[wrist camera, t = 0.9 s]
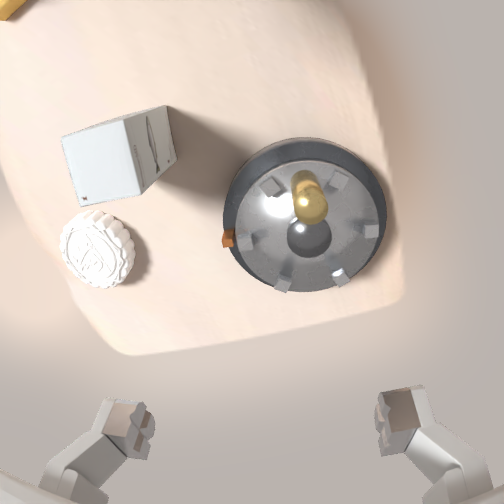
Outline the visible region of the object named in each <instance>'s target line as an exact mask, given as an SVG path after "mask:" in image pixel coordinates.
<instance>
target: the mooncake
mask: <svg viewBox="0 0 504 504" xmlns="http://www.w3.org/2000/svg"><path fill="white" fill-rule="evenodd" d="M60 239H61V242H62V243H61V244H60V249H61V251H62V257H63V259H64V260H65V261H66V264H67V266H68V268H69V269H70V270H72V271H73V273H74V275H75V276H76V277H77V278H80V279H81V280H82V281H83V282H84V283H86V284H91V285H92V286H93V287H96V288H97V287H101V288H104V289H107V288H109V286H110V287H116V286H117V285H118V283H122V282H123V281H124V280H125V278H126V276H127V275H128V274H129V272H130V270H131V269H132V267H133V265H134V258H135V256H136V252H135V250H134V246H135V244H134V241H133V240H132V239H130V233H129V231H128V230H127V229H125V228H124V227H123V224H122V223H121V222H120V221H119V220H115V219H114V217H113V216H112V215H111V214H104V213H103V212H102V211H100V210H97V211H95V212H94V211H92V210H87V211H86V212H85V213H79V214H78V215H77V216H76V217H75V218H73V219H72V220H71V221H70V222H69V223H68V224H67V225H66V226H65V227H64V229H63V233H62V234H61V237H60Z"/></svg>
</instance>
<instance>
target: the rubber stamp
mask: <svg viewBox="0 0 504 504" xmlns="http://www.w3.org/2000/svg"><path fill="white" fill-rule="evenodd" d="M26 1H27V0H0V21H6V20H7V19H8V18H9V17H10V16H11V15H12V14H13V13H14V12H15V11H16V10H17V9H18V8H19V7H20V6H21V5H22V4H24V3H25V2H26Z"/></svg>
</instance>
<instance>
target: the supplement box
mask: <svg viewBox="0 0 504 504" xmlns="http://www.w3.org/2000/svg"><path fill="white" fill-rule="evenodd" d="M61 143H62V147H63V151H64V154H65V158H66V162H67V165H68V169H69V172H70V176H71V179H72V182H73V185H74V188H75V192H76V195H77V198H78V201H79V205H80V207H84V206H88V205H93V204H98V203H102V202H107V201H112V200H117V199H122V198H128V197H133V196H139V195H142V194H143V193H144V192H145V191H146V190H147V189H148V188H149V187H150V186H151V185H152V184H153V183H154V182H155V181H156V180H157V179H158V178H159V177H160V176H161V175H162V174H163V173H164V172H165V171H166V170H167V169H168V168H169V167H170V166H171V165H172V164H173V163H175V162H176V161H177V156H176V153H175V149H174V145H173V140H172V135H171V130H170V125H169V119H168V113H167V106H166V105H163V106H159V107H154V108H150V109H146V110H142V111H138V112H134V113H130V114H127V115H123V116H120V117H117V118H114V119H111V120H107V121H104V122H101V123H99V124H96V125H93V126H90V127H88V128H85V129H82V130H80V131H77V132H74V133H71V134H68V135H66V136H63V137H61Z"/></svg>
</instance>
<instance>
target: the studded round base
mask: <svg viewBox="0 0 504 504" xmlns="http://www.w3.org/2000/svg"><path fill="white" fill-rule="evenodd" d="M235 234H236V242H237V245H238V249H239V251H240V254H241V256H242V258H243V259H244V261H245V263H246V264H247V265H248V267H249V268H250V269H251V270H252V271H253V272H254V273H255V274H256V275H257V276H258V277H260V278H261V279H263V280H264V281H266V282H268V283H269V284H271V285H274V289H276V290H279V291H282V292H285V293H286V292H287V291H288V290H290V291H296V292H312V291H319V290H323V289H327V288H330V287H333V286H336V285H338V286H339V287H341V286H343V285H344V284H346V283H348V282H350V277H351V276H353V275H354V274H355V273H356V272H357V271H358V270H359V269H360V268H361V267H362V266H363V265H364V264H365V262H366V261H367V260H368V258H369V257H370V255H371V253H372V251H373V249H374V246H375V244H376V240H377V237H378V235H379V221H378V213H377V209H376V206H375V203H374V201H373V199H372V197H371V195H370V193H369V192H368V190H367V189H366V188H365V186H364V185H363V184H362V182H361V181H360V180H359V179H358V178H357V177H356V176H355V175H354V174H353V173H352V172H350V171H349V170H348V169H346V168H344V167H343V166H341V165H339V164H337V163H334V162H331V161H328V160H324V159H319V158H297V159H291V160H288V161H285V162H281V163H279V164H277V165H275V166H273V167H271V168H269V169H268V170H266V171H264V172H263V173H262V174H261V175H260V176H258V177H257V178H256V179H255V180H254V181H253V183H252V184H251V185H250V186H249V188H248V189H247V191H246V192H245V194H244V196H243V198H242V200H241V203H240V206H239V209H238V213H237V218H236V225H235Z"/></svg>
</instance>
